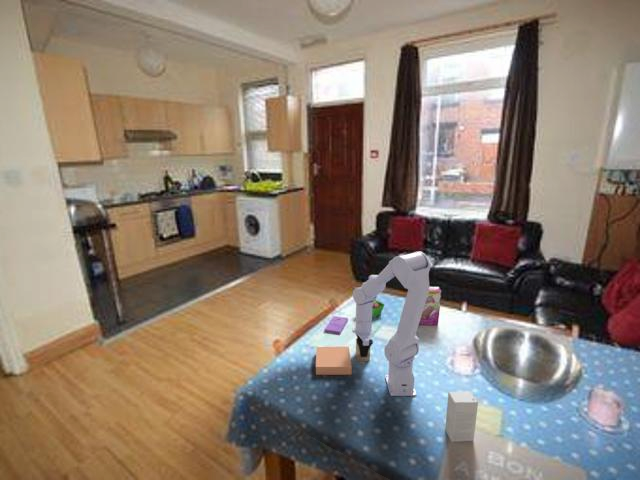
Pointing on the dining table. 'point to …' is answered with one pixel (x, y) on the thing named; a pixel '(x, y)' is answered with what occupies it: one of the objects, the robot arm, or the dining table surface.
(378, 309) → the fruit basket
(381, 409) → the dining table surface
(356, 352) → the beech block
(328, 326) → the sponges
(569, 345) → the dining table surface
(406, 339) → the robot arm
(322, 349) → the terracotta plinth
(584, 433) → the dining table surface
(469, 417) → the skincare box
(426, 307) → the candy bar box
